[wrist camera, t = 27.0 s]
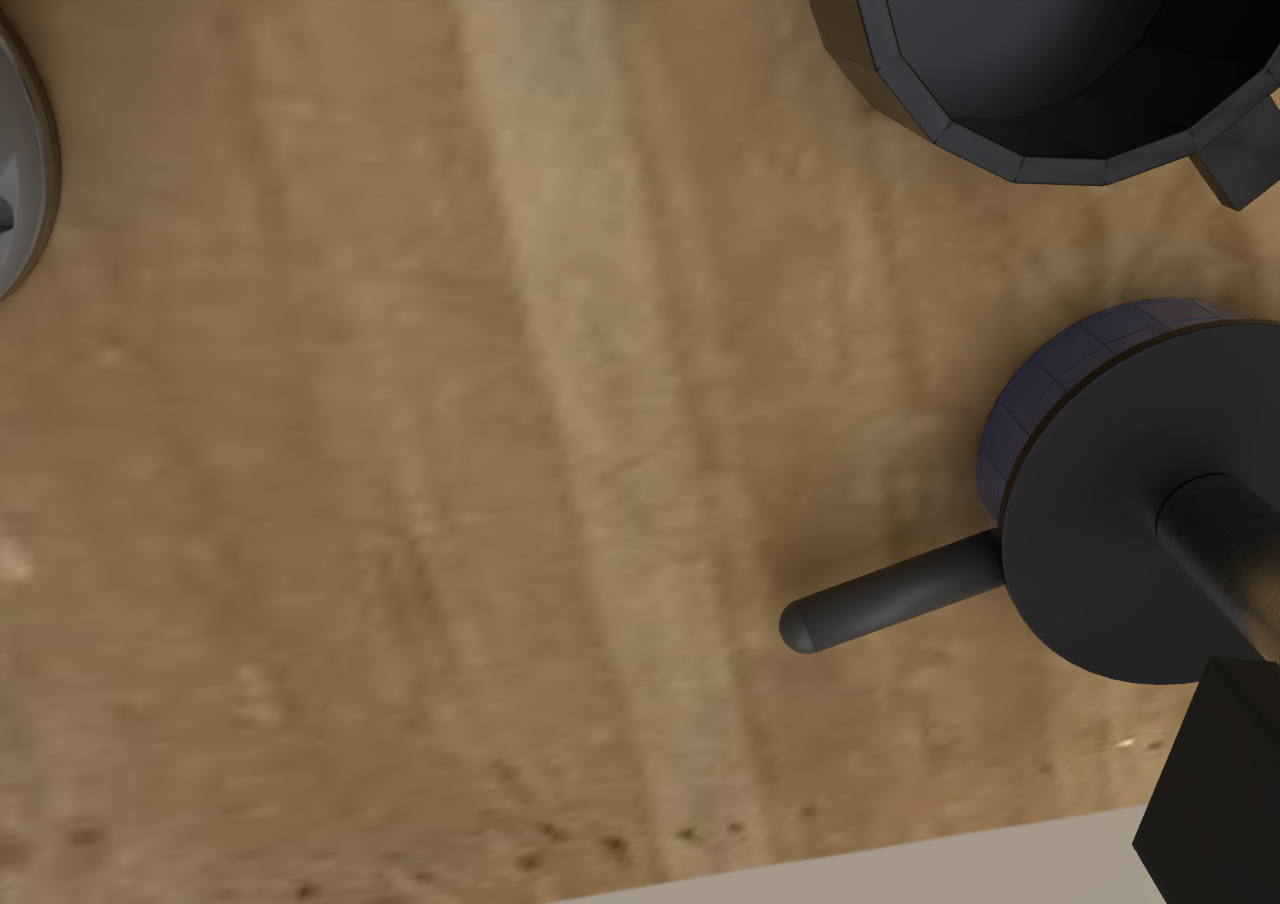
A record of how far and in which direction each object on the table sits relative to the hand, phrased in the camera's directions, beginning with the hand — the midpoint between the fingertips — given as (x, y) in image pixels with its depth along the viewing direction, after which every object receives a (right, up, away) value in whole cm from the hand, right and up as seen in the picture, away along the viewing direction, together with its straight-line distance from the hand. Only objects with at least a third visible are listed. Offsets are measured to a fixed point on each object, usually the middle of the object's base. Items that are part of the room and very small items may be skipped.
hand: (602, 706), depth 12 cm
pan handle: (+11, -2, +32) cm, 34 cm away
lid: (+21, +1, +28) cm, 35 cm away
